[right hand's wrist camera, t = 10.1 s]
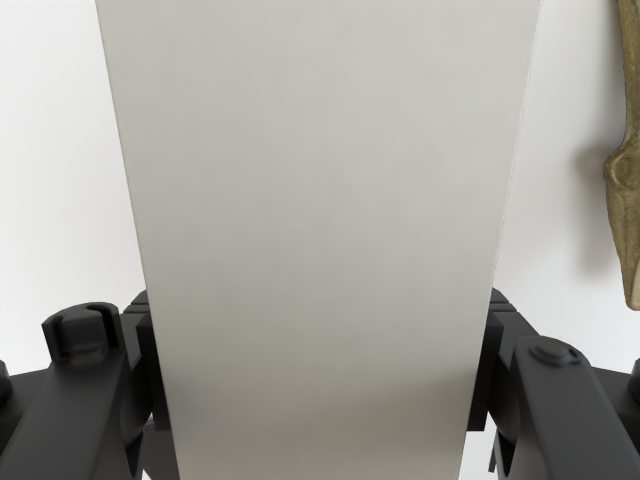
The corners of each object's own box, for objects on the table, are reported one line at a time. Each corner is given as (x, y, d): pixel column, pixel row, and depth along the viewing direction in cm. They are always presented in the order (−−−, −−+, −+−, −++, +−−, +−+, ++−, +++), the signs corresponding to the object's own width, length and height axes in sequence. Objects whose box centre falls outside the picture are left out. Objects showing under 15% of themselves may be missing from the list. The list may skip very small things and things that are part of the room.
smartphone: (302, 371, 30) (121, 427, 32) (302, 380, 29) (116, 436, 31) (336, 443, 33) (167, 490, 35) (336, 452, 32) (163, 500, 34)
